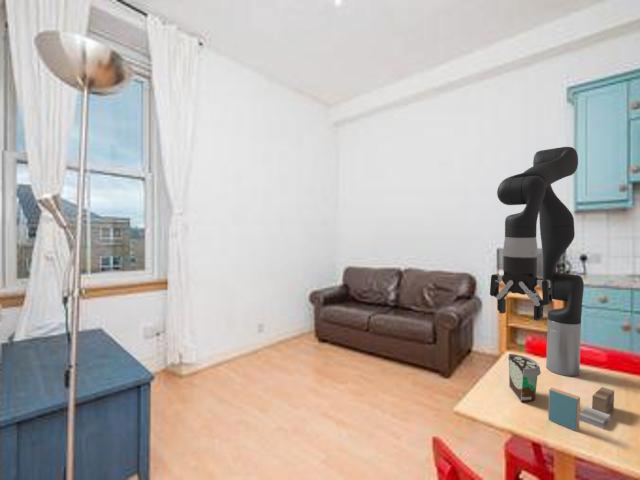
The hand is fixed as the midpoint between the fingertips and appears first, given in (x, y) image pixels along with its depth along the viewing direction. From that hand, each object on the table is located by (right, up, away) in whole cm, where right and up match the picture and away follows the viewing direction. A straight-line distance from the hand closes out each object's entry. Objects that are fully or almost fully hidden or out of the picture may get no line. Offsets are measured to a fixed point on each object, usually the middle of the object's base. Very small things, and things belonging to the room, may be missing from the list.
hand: (519, 316), depth 88 cm
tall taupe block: (+21, -26, 0) cm, 33 cm away
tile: (+9, -26, -4) cm, 28 cm away
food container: (+8, -26, +10) cm, 29 cm away
